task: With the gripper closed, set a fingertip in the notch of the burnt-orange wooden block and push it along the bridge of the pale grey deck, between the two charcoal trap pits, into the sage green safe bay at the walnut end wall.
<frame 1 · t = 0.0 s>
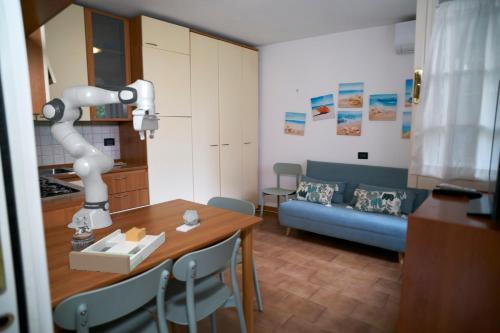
hand: (147, 139, 164), 48 cm above the table, tool pointing down, fingers open, 8 cm apart
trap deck: (122, 253, 137), on the table
block: (135, 239, 148), point 2 cm above the table, touching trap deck
cupcake: (84, 249, 142), on the table
die: (191, 225, 177), on the table
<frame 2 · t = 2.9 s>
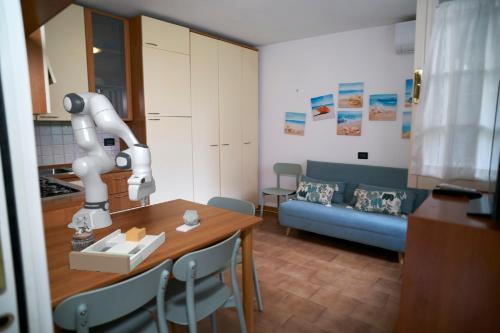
hand: (144, 205, 155), 16 cm above the table, tool pointing down, fingers closed
nothing on the table moved.
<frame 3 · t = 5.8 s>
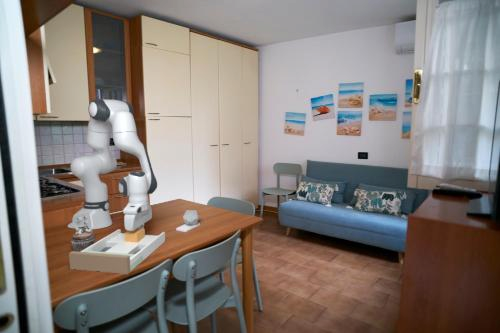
hand: (140, 233, 152), 4 cm above the table, tool pointing down, fingers closed
block: (134, 239, 147), point 3 cm above the table, touching gripper, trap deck
everything else where it was.
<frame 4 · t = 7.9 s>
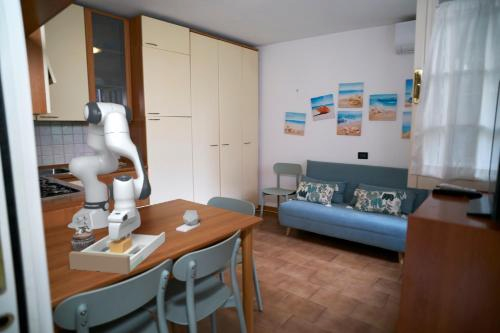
hand: (126, 242, 140), 4 cm above the table, tool pointing down, fingers closed
block: (120, 249, 135), point 3 cm above the table, touching gripper
everything else where it was.
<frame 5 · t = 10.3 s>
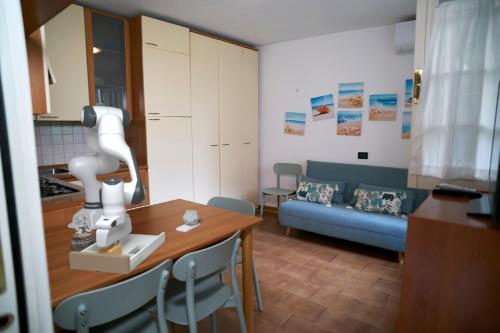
hand: (116, 250, 132), 4 cm above the table, tool pointing down, fingers closed
block: (109, 257, 127), point 2 cm above the table, touching gripper, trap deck
everything else where it was.
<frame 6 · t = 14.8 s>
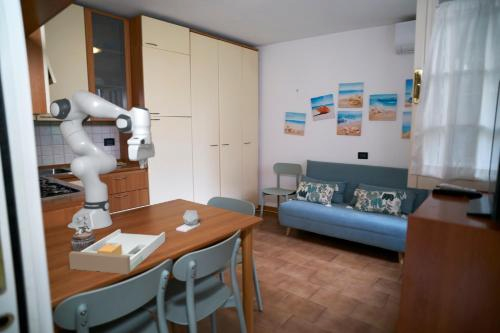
hand: (143, 167, 157), 34 cm above the table, tool pointing down, fingers closed
block: (109, 257, 127), point 2 cm above the table, touching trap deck
everything else where it was.
at the end: block inside the target area on the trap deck (0.3 cm from its centre), point 2.5 cm above the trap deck's base; block tilted 0°; block moved 20.8 cm from its start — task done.
